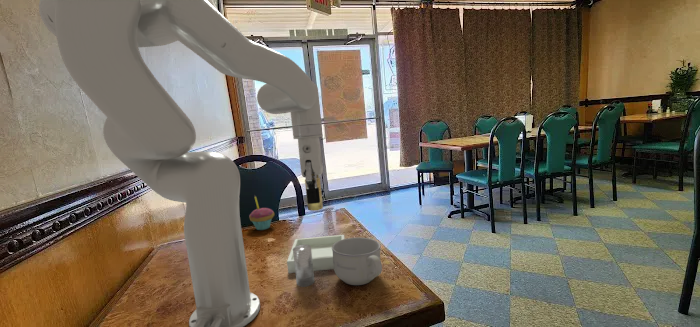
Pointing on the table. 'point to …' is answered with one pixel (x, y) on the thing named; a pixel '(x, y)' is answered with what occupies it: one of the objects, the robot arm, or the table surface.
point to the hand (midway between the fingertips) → (314, 200)
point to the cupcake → (261, 217)
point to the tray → (316, 252)
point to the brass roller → (320, 205)
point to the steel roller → (303, 265)
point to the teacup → (357, 260)
